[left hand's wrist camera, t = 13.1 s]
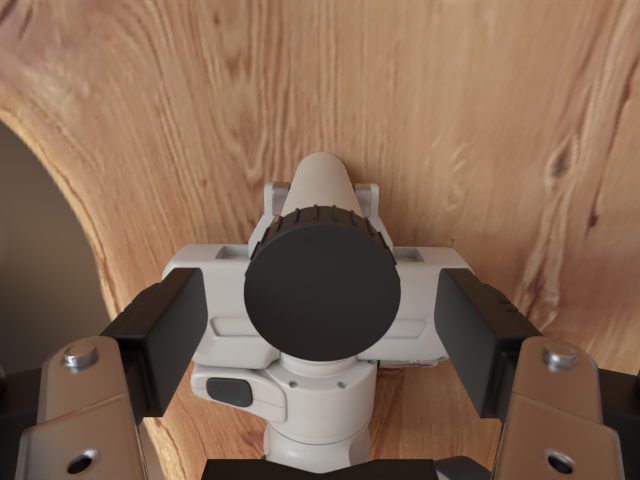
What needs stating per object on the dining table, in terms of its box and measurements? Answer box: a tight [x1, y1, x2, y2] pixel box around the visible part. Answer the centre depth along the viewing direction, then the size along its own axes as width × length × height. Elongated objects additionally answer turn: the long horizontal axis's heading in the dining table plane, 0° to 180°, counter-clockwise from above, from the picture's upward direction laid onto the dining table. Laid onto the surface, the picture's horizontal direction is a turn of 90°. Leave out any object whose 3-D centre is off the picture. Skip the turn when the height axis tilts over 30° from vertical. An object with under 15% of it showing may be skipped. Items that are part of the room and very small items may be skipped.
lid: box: [244, 204, 401, 362], centre depth 12 cm, size 5×5×2 cm
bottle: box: [280, 152, 364, 219], centre depth 20 cm, size 4×4×18 cm
